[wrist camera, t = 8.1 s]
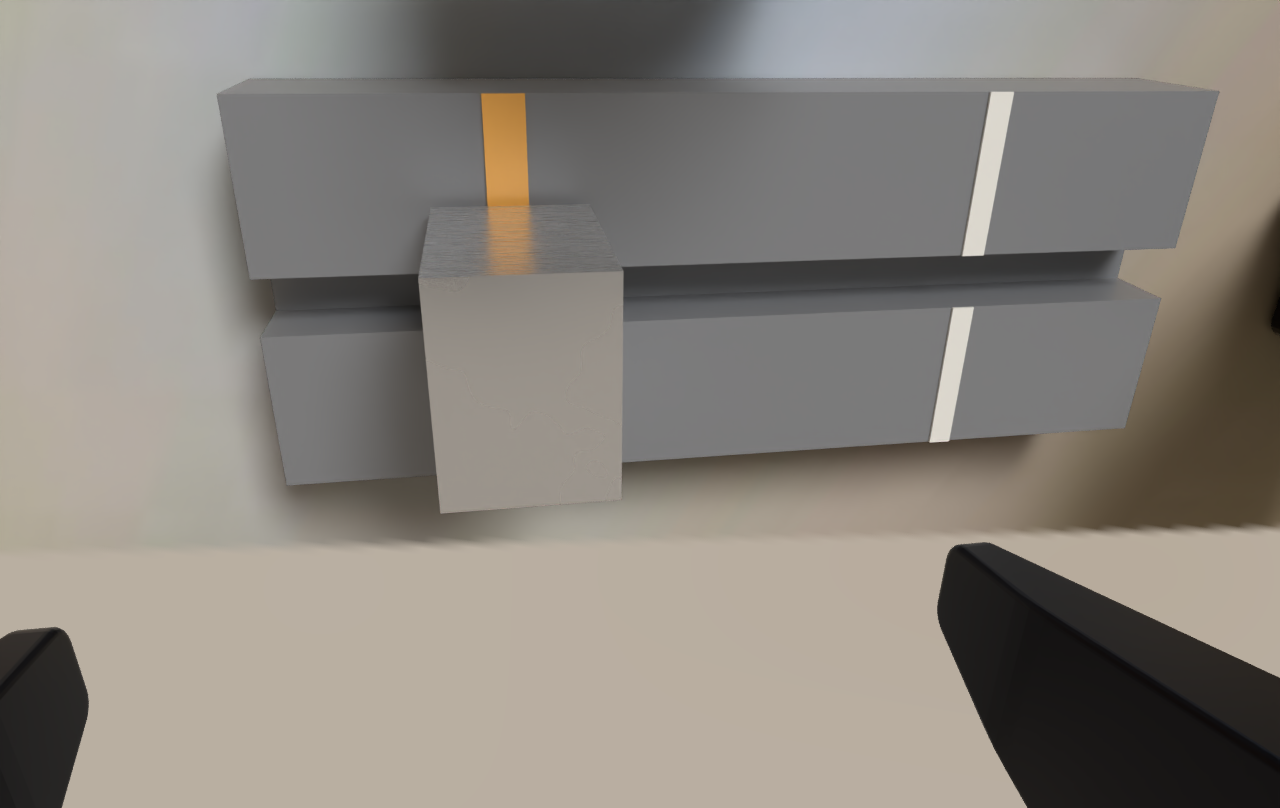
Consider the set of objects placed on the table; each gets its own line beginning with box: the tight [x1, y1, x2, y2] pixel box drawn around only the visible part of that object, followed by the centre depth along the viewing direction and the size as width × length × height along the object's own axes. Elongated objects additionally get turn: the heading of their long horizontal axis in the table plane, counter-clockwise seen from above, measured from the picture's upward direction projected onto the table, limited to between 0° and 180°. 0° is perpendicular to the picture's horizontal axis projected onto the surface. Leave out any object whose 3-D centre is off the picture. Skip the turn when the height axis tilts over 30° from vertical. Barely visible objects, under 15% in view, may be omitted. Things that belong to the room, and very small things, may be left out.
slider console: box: [217, 78, 1219, 485], centre depth 20 cm, size 20×8×3 cm, turn 89°
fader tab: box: [418, 204, 623, 514], centre depth 17 cm, size 3×4×6 cm
